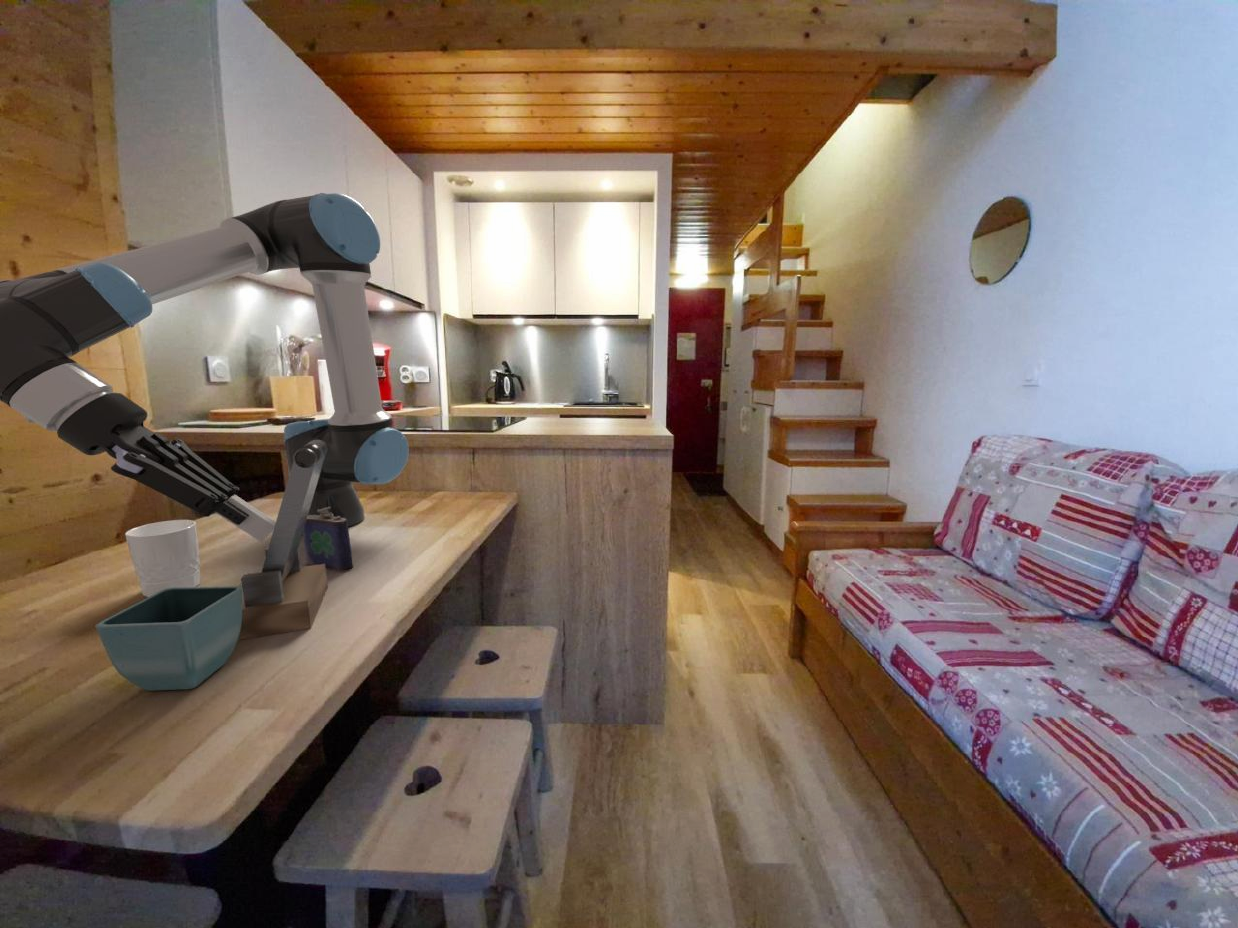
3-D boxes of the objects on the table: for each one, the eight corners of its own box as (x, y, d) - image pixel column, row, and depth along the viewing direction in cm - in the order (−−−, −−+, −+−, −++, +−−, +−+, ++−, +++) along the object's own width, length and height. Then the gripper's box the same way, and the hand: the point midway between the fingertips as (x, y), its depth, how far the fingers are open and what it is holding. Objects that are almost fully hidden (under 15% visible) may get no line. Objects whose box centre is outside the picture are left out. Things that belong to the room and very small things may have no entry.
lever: (250, 599, 62) (294, 447, 61) (270, 571, 71) (309, 437, 70) (274, 602, 64) (317, 453, 62) (291, 574, 72) (329, 442, 71)
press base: (219, 643, 61) (209, 584, 59) (251, 597, 73) (244, 547, 71) (311, 628, 65) (304, 572, 63) (327, 587, 76) (322, 539, 75)
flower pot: (179, 655, 58) (166, 586, 57) (255, 652, 59) (244, 584, 57) (109, 704, 50) (91, 625, 48) (198, 701, 50) (184, 623, 49)
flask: (302, 566, 84) (295, 507, 82) (317, 560, 87) (310, 503, 85) (345, 573, 82) (339, 512, 80) (358, 566, 85) (353, 507, 83)
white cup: (165, 602, 71) (152, 538, 69) (123, 597, 73) (110, 534, 71) (218, 580, 79) (208, 521, 77) (179, 575, 80) (169, 518, 78)
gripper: (94, 428, 62) (263, 537, 72) (17, 442, 51) (231, 571, 60) (141, 387, 63) (301, 500, 73) (76, 392, 51) (278, 527, 61)
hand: (270, 532), depth 66 cm, fingers closed
